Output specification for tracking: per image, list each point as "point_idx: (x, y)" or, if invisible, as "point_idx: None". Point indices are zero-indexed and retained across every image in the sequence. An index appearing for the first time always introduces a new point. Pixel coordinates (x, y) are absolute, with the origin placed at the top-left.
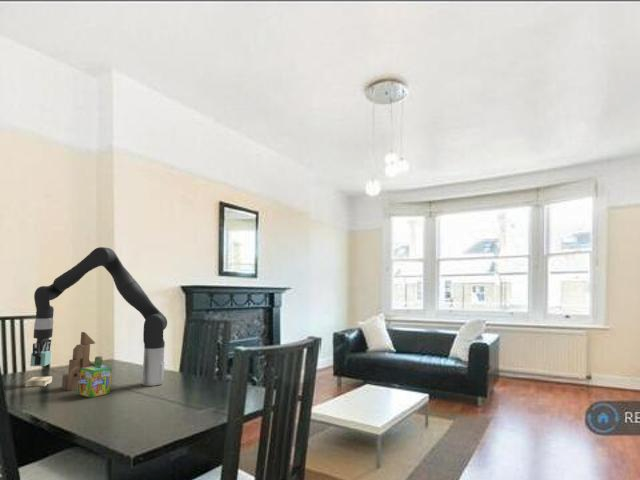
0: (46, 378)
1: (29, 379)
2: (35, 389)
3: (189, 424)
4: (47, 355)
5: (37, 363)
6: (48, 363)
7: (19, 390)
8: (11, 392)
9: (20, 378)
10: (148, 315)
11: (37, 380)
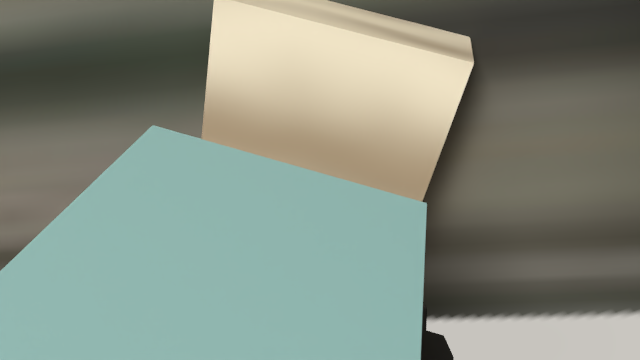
0: (340, 59)
1: None
2: (621, 120)
3: None
4: (267, 333)
5: (444, 355)
6: (228, 157)
7: (564, 257)
8: (617, 308)
9: None
10: None
11: (431, 155)
